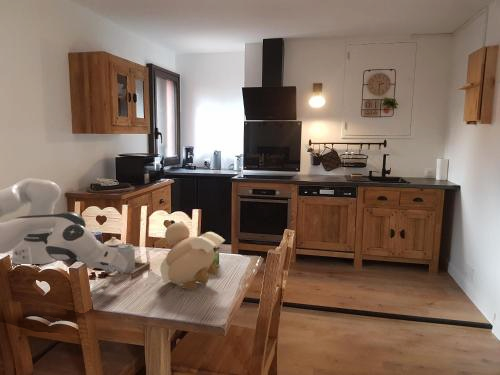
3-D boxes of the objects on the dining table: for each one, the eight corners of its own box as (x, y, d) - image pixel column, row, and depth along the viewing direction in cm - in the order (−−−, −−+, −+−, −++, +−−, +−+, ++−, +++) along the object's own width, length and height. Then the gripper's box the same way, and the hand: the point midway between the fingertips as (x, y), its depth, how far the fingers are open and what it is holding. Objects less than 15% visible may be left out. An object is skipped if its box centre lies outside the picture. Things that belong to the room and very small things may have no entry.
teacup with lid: (113, 265, 175) (112, 241, 173) (99, 262, 179) (99, 238, 177) (132, 258, 185) (132, 235, 183) (119, 255, 189) (119, 232, 188)
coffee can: (223, 265, 177) (223, 236, 175) (204, 269, 171) (204, 239, 169) (212, 259, 185) (212, 231, 184) (193, 263, 179) (193, 234, 178)
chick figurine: (204, 200, 158) (173, 210, 137) (244, 255, 153) (218, 273, 133) (160, 240, 169) (125, 254, 148) (196, 292, 165) (165, 314, 144)
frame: (104, 274, 163) (104, 268, 162) (122, 265, 175) (122, 259, 175) (133, 278, 159) (133, 272, 159) (149, 268, 171) (149, 263, 171)
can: (130, 275, 163) (129, 248, 161) (114, 274, 164) (113, 247, 162) (137, 269, 170) (137, 243, 169) (122, 268, 171) (121, 242, 170)
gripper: (67, 258, 145) (86, 274, 156) (113, 264, 140) (129, 280, 150) (75, 244, 149) (93, 260, 159) (120, 249, 143) (135, 266, 154)
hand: (111, 270), depth 155 cm, fingers closed
